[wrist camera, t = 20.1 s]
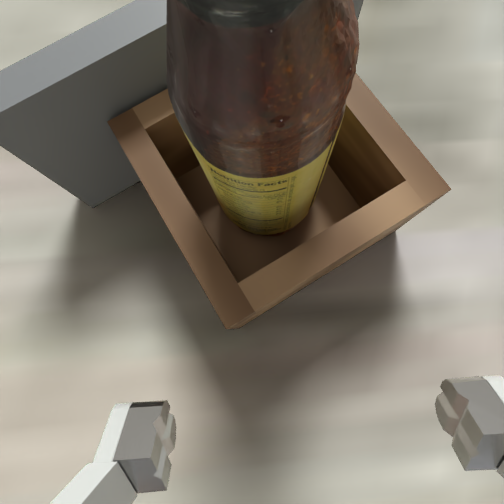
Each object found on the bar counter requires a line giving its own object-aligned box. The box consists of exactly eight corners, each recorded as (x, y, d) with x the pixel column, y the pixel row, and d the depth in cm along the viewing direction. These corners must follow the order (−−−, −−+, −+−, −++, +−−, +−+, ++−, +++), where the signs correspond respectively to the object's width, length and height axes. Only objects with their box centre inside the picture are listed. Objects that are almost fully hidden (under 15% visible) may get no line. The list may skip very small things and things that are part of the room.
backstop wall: (92, 207, 24) (-28, 127, 14) (81, 186, 24) (-43, 93, 15) (344, 64, 26) (391, -97, 16) (330, 46, 26) (367, -121, 16)
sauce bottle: (253, 140, 23) (179, -753, 4) (330, 184, 22) (724, -722, 3) (200, 214, 22) (-241, -494, 3) (278, 264, 21) (362, -326, 2)
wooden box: (239, 328, 22) (226, 329, 15) (152, 179, 24) (107, 121, 17) (395, 230, 23) (451, 189, 16) (295, 97, 25) (305, 12, 18)
